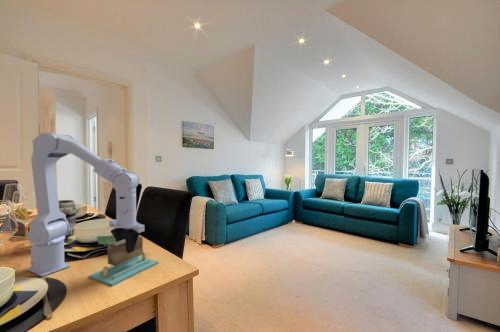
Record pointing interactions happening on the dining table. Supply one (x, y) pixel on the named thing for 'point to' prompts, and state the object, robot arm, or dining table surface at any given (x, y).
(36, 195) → the robot arm
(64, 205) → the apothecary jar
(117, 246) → the walnut frame
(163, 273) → the dining table surface
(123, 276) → the light blue peg board
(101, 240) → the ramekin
